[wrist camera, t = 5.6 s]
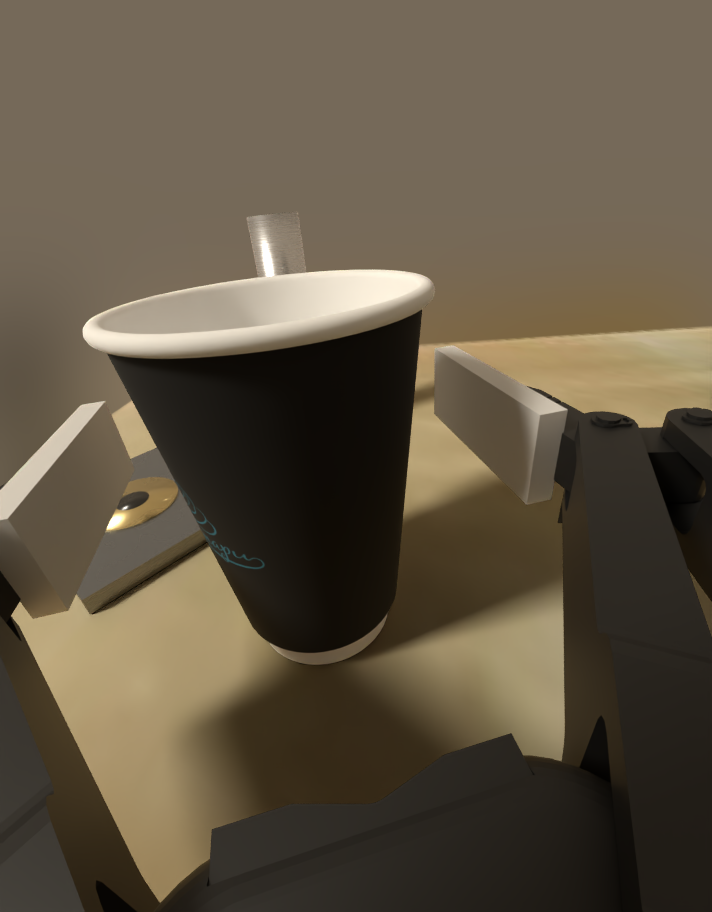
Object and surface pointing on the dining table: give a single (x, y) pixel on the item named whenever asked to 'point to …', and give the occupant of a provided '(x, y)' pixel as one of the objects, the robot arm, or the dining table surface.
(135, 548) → the plate
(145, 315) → the dixie cup
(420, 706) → the dining table surface
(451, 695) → the dining table surface
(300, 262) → the post
